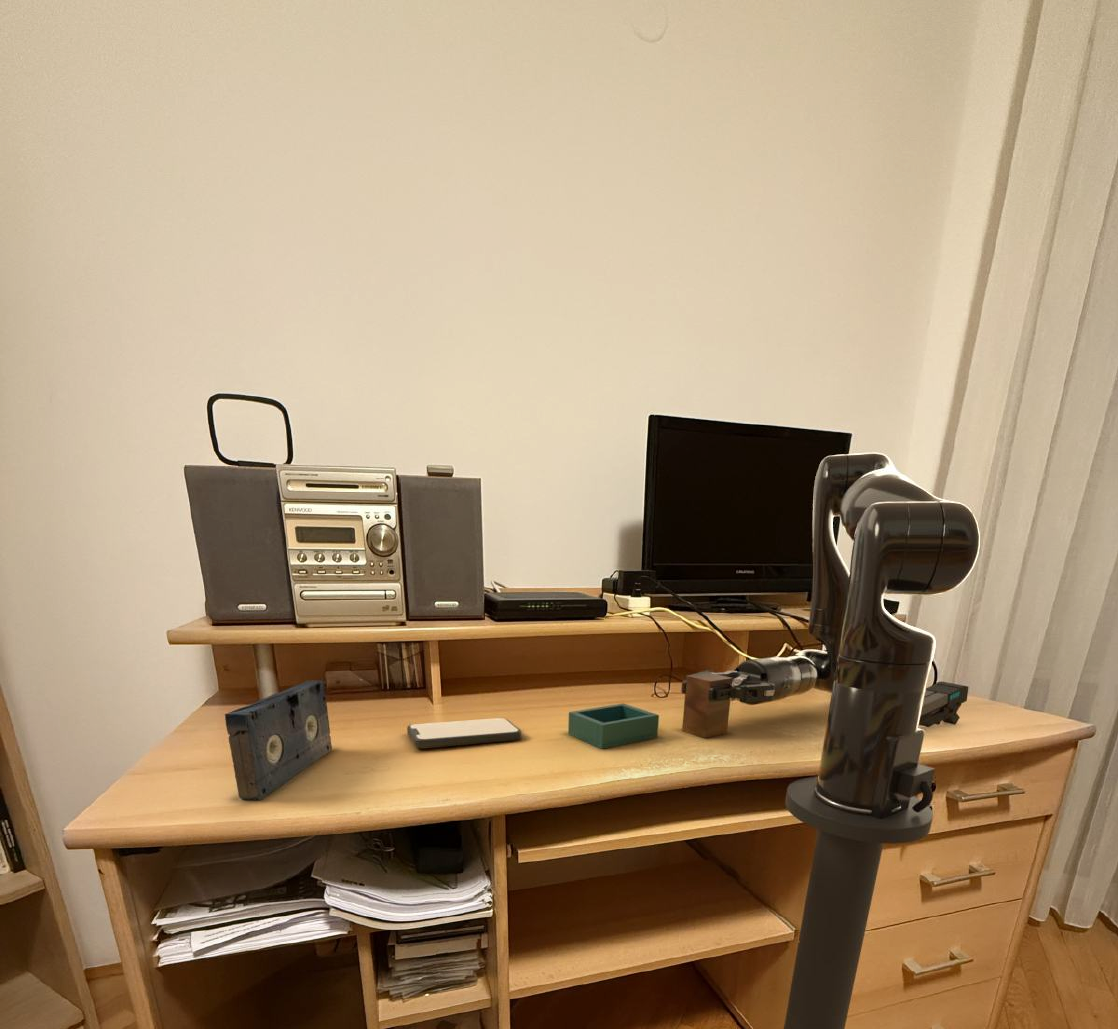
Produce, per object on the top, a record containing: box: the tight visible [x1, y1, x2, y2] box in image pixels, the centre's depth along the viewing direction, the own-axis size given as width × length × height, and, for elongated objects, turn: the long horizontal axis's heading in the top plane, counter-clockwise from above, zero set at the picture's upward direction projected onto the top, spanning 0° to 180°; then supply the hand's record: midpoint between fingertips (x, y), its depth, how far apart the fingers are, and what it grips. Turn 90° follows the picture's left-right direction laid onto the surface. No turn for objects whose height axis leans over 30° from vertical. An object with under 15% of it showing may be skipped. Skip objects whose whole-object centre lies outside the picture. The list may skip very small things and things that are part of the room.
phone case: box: [406, 717, 522, 749], centre depth 89 cm, size 9×2×16 cm
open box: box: [567, 703, 660, 750], centre depth 91 cm, size 8×11×4 cm
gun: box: [918, 681, 970, 728], centre depth 97 cm, size 4×20×10 cm, turn 118°
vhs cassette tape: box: [224, 679, 333, 801], centre depth 73 cm, size 18×3×10 cm, turn 174°
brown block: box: [681, 673, 733, 739], centre depth 93 cm, size 5×5×9 cm
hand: (696, 691), depth 91 cm, fingers closed on brown block, 5 cm apart
